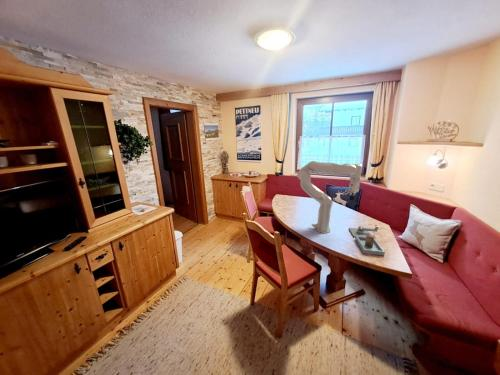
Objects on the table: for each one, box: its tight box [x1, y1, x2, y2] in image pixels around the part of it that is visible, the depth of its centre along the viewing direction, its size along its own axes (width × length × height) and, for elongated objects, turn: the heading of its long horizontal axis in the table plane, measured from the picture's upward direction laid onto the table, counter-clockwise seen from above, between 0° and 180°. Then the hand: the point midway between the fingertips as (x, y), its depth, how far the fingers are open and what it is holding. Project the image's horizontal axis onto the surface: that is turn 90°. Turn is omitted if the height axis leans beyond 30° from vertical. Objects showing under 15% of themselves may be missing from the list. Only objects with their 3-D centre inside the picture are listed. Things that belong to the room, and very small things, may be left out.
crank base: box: [348, 227, 371, 238], centre depth 161 cm, size 14×14×3 cm
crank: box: [357, 224, 379, 233], centre depth 158 cm, size 14×5×5 cm, turn 76°
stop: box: [365, 234, 375, 248], centre depth 141 cm, size 5×5×8 cm
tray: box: [355, 236, 386, 256], centre depth 142 cm, size 13×19×3 cm
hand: (351, 200), depth 162 cm, fingers closed
